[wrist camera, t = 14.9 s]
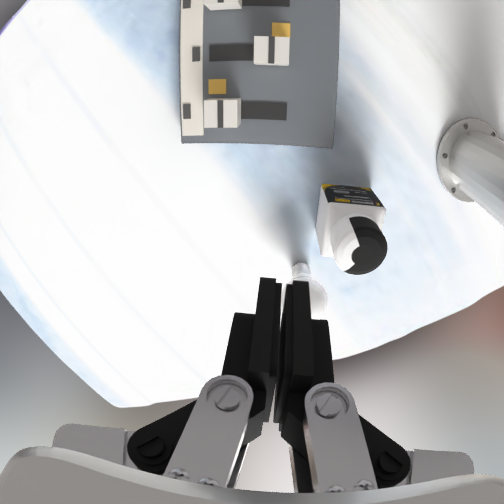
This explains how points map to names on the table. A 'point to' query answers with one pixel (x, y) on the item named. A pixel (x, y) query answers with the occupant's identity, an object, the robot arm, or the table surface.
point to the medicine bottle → (351, 227)
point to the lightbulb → (316, 290)
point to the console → (261, 71)
